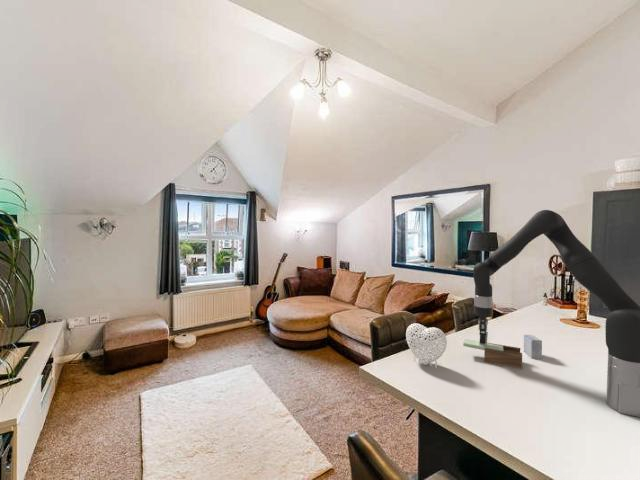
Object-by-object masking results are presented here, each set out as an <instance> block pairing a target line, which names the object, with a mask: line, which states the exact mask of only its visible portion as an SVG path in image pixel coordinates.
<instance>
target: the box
mask: <svg viewBox="0 0 640 480" xmlns="http://www.w3.org/2000/svg"><path fill="white" fill-rule="evenodd" d="M487 343H488V344H493V345H499V346H503V350H504V351H500V350H494V349H488V348H485V350H484V354H483V355H484V363H489V364H493V365H499V366H505V367H510V368H515V369H521V370H522V369H523V352H521V347H516V346H510V345H503V344H499V343H498V344H497V343H491V342H487Z"/></svg>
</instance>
